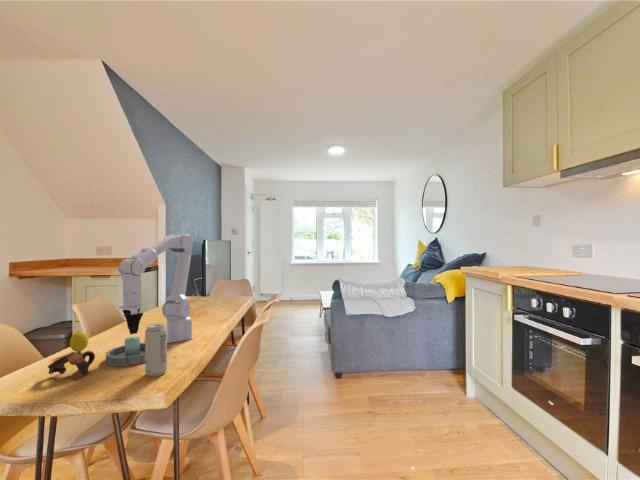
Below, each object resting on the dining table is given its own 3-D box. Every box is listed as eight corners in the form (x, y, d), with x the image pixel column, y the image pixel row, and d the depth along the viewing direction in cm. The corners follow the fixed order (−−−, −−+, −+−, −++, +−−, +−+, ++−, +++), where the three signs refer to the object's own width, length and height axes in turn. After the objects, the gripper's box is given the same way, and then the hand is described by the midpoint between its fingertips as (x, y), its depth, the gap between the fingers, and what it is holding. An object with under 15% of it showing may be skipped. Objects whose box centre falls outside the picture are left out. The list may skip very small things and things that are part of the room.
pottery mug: (67, 386, 95) (51, 362, 95) (53, 394, 99) (38, 371, 99) (106, 361, 106) (92, 340, 106) (92, 369, 110) (79, 349, 110)
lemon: (78, 355, 119) (78, 333, 119) (66, 354, 120) (65, 332, 120) (92, 350, 124) (91, 329, 124) (79, 349, 126) (79, 328, 126)
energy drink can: (150, 369, 105) (150, 323, 105) (170, 369, 106) (169, 322, 106) (141, 377, 99) (141, 328, 99) (162, 377, 100) (161, 327, 100)
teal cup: (139, 352, 119) (138, 335, 119) (140, 356, 116) (140, 338, 116) (124, 355, 117) (124, 338, 117) (125, 358, 113) (125, 341, 113)
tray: (154, 347, 127) (154, 340, 127) (160, 359, 114) (160, 351, 114) (105, 355, 118) (105, 348, 118) (106, 370, 105) (105, 361, 105)
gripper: (118, 291, 120) (118, 328, 120) (120, 296, 108) (120, 338, 108) (139, 289, 124) (140, 325, 124) (144, 294, 112) (144, 334, 112)
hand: (132, 331), depth 117 cm, fingers open, 7 cm apart
